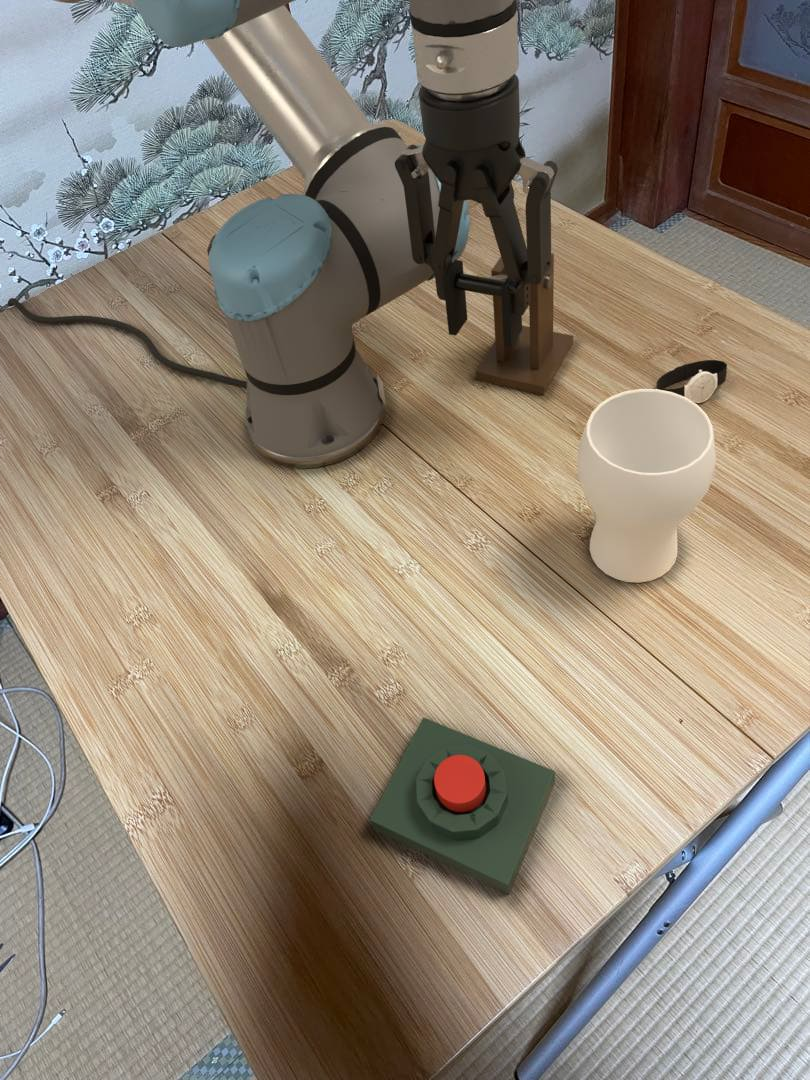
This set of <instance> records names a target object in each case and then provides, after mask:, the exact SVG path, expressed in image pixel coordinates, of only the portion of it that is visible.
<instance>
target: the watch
mask: <svg viewBox="0 0 810 1080" xmlns="http://www.w3.org/2000/svg"><path fill="white" fill-rule="evenodd" d="M727 372H728V364H727V363H726V362H725V361H722V360H718V359H704V360H699V361H694V362H689V363H684V364H683V365H680V366H677V367H675V368H674V369H672V370H670V371H667V372H665V373H664V374H662V375H661V376H660V377H659V378H658V380H657V381H656V389H658V390H664V391H669V392H673V393H676V394H678V395H681V396H683V397H686V398H688V399H689V400H691V401H692V402H694V403H695V404H697V403H699V404H700V403H704V402H706V401H707V400H709V398H710V397H712V395H713V394H714V392H715V391H716V389H717V388H718V387H720V386H722V385H723V384H724V383H725V382H726V379H727ZM688 379H690V380H689V381H688V383H687V384H685V385H683V386H681V387H675V388H667V387H669V386H671V385H673V384H676V383H678V382H681V381H684V380H688Z"/></svg>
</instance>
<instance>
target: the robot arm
mask: <svg viewBox="0 0 810 1080" xmlns="http://www.w3.org/2000/svg"><path fill="white" fill-rule="evenodd" d="M53 1H54V2H59V3H63V4H77V3H79V2H84V0H53ZM108 1H109V2H115V3H118V4H122V5H126V6H131V7H134V8H136V9H137V11H138V14H139V15H140V17H141V18H142V20H143V22H144V23H145V24H146V26H147V27H148V28H149V29H150V30H151V31H153V32H154V33H155V35H156V37H157V38H158V39H160V41H162V42H163V43H164V44H165V45H168V46H169V47H174V48H184V47H185V48H186V47H188V46H191V45H193V44H196V43H199V42H201V41H202V42H203V43H204V44H205V45H206V47H207V48H208V49H209V51H210V52H211V54H212V55H213V57H214V58H215V59H216V60H217V63H219V65H220V66H221V67H222V69H223V70H224V71H225V73H226V74H227V76H228V77H229V78H230V79H231V81H232V83H233V84H234V85H235V87H236V88H237V90H239V92H240V93H241V95H242V96H243V97H244V99H245V100H246V102H247V103H248V104H249V106H250V107H251V109H252V110H253V112H254V113H255V115H256V116H257V117H258V118H259V120H260V121H261V122H262V124H263V125H264V126H265V128H266V129H267V131H268V132H269V133H270V135H271V136H272V137H273V139H274V140H275V142H276V143H277V144H278V146H279V147H280V149H282V151H283V152H284V154H285V155H286V156H287V158H288V159H289V161H290V162H291V163H292V165H293V166H294V167H295V169H296V171H297V172H298V173H299V174H300V177H302V178H303V180H304V184H303V185H304V186H303V192H302V194H299V193H283V194H282V193H281V194H279V195H278V197H276V198H274V199H273V198H272V197H270V196H267V197H265V198H262V199H258V200H256V201H254V202H252V203H250V204H248V205H246V206H244V207H242V208H241V209H240V210H238V211H237V212H236V213H234V214H233V215H232V216H230V217H229V218H228V219H227V220H226V221H225V222H224V223H223V224H222V225H221V227H220V228H219V229H218V231H217V233H216V234H215V235H216V236H215V238H214V240H213V242H212V248H211V250H210V252H209V256H208V268H209V272H210V276H211V279H212V282H213V287H214V295H215V299H216V301H217V305H218V306H219V308H220V309H219V310H221V311H222V313H223V315H224V319H225V321H226V324H227V326H228V328H229V332H230V334H231V338H232V340H233V342H234V345H235V348H236V351H237V354H238V357H239V358H240V362H241V364H242V367H243V370H244V373H245V376H246V380H242V379H237V378H234V377H229V376H227V375H222V374H219V373H215V372H211V371H207V370H202V369H198V368H194V367H190V366H186V365H183V364H180V363H178V362H175V361H173V360H171V359H169V358H167V357H165V356H164V355H163V354H162V353H161V352H159V350H158V349H157V347H156V346H155V344H154V343H153V341H152V340H151V338H149V336H148V335H147V334H146V333H145V332H143V331H142V330H141V329H139V328H137V327H135V326H133V325H131V324H129V323H126V322H123V321H120V320H116V319H112V318H106V317H103V316H102V317H100V316H94V315H67V316H41V315H37V314H34V313H33V312H31V311H30V310H28V309H27V308H26V307H25V306H23V304H22V303H21V302H20V301H19V300H18V299H16V298H14V297H11V298H9V299H8V300H7V306H8V307H13V306H14V307H15V308H16V309H17V310H18V311H19V312H20V313H21V314H22V315H23V316H24V317H26V318H27V319H29V320H30V321H33V322H37V323H41V324H66V323H93V324H101V325H107V326H110V327H111V326H112V327H114V328H115V327H116V328H119V329H122V330H123V331H127V332H129V333H130V334H133V335H134V336H136V337H138V338H139V339H140V340H142V342H143V343H144V344H145V346H146V347H147V349H148V350H149V352H150V353H151V355H152V356H153V357H154V358H155V359H156V360H157V361H158V362H159V363H160V364H162V365H164V366H166V367H167V368H170V369H172V370H173V371H176V372H180V373H183V374H186V375H191V376H195V377H200V378H202V379H203V378H204V379H208V380H211V381H214V382H218V383H222V384H226V385H229V386H234V387H236V388H240V389H245V390H246V397H245V398H246V400H245V405H246V407H245V423H246V427H247V431H248V434H249V437H250V439H251V441H252V444H253V445H254V447H255V449H256V450H257V451H258V452H259V454H261V456H263V457H265V458H266V459H268V460H269V461H271V462H273V463H275V464H278V465H282V466H285V467H291V468H301V469H309V468H318V467H319V468H320V467H325V466H329V465H331V464H335V463H338V462H341V461H343V460H346V459H348V458H349V457H352V456H353V455H355V454H357V453H358V452H360V451H361V450H363V449H364V448H365V447H366V446H367V445H369V444H370V443H371V442H372V441H373V440H374V439H375V437H377V435H378V433H379V432H380V431H381V429H382V427H383V424H384V422H385V418H386V412H387V408H386V405H387V403H386V396H385V389H384V388H385V387H384V382H383V380H382V379H381V378H380V376H379V374H378V373H376V375H375V374H374V372H372V371H371V369H369V368H368V365H367V363H366V361H365V360H364V358H363V356H362V355H361V353H360V352H359V350H358V349H357V346H356V341H355V337H354V334H353V328H352V326H353V325H354V324H355V323H357V322H358V321H360V320H362V319H364V318H365V317H367V316H368V315H370V314H372V313H374V312H375V311H377V310H379V309H380V308H382V307H385V306H386V305H388V304H390V303H391V302H392V301H394V300H397V299H398V298H399V297H401V296H404V295H405V294H406V293H408V292H409V291H411V290H413V289H414V288H416V287H418V286H420V285H421V284H423V283H425V282H428V281H429V282H430V281H431V280H433V279H434V281H435V288H436V289H435V290H436V295H437V298H438V300H440V301H444V302H445V311H446V319H447V320H446V321H447V330H448V335H451V336H454V337H456V336H457V335H458V333H459V332H460V331H461V329H462V328H463V326H464V325H465V323H466V322H467V321H468V319H469V318H468V307H467V298H466V297H467V295H466V291H465V290H460V289H456V288H455V286H454V280H455V277H456V275H457V273H464V262H463V260H460V259H459V258H460V257H462V255H463V254H464V251H465V249H466V247H467V245H468V241H469V235H470V215H469V204H468V201H473V202H475V203H477V204H481V206H482V210H483V213H484V216H485V217H486V218H488V219H489V222H490V225H491V228H492V232H493V235H494V238H495V241H496V246H497V247H498V251H499V255H500V257H501V258H502V261H503V264H504V268H505V271H506V274H507V279H506V280H505V282H504V283H503V285H502V286H501V298H502V319H503V339H504V346H506V347H512V346H513V344H514V342H515V341H516V339H517V338H518V336H519V334H520V333H521V331H522V325H523V316H524V314H525V313H526V311H527V310H528V308H529V304H530V302H531V301H530V283H531V284H533V285H538V284H540V283H541V281H542V280H543V278H544V276H545V275H546V273H547V272H548V270H549V269H550V267H551V253H552V192H551V191H552V187H553V184H554V182H555V180H556V177H557V174H558V170H559V168H558V165H557V163H556V162H554V161H553V160H547V161H545V162H544V163H543V164H542V163H540V162H537V161H535V160H533V159H531V158H529V157H527V155H526V154H527V153H526V151H525V149H524V148H525V147H524V146H523V144H522V142H521V139H520V128H521V127H520V125H521V118H520V117H521V113H520V110H521V109H520V79H519V77H518V75H517V74H516V73H517V71H518V70H519V64H520V61H519V60H520V58H519V57H520V56H519V55H520V54H519V35H518V33H519V32H518V31H519V30H518V11H517V8H518V3H517V2H518V0H408V11H409V20H410V24H411V25H410V26H411V36H412V42H413V43H412V44H413V51H414V61H415V69H416V78H417V82H418V83H419V84H420V85H421V86H420V87H419V90H418V99H419V107H420V108H419V109H420V116H421V125H422V133H423V136H424V138H425V141H424V144H418V145H416V144H410V145H407V143H405V141H404V140H403V139H402V137H401V135H400V134H399V133H398V132H397V130H396V129H395V128H394V127H393V126H391V125H389V124H386V123H371V121H370V120H369V118H368V117H367V116H366V115H365V113H364V112H363V110H362V109H361V108H360V106H359V105H358V104H357V102H356V101H355V99H353V97H352V96H351V94H350V92H348V90H347V88H346V87H345V86H344V85H343V83H342V82H341V80H340V79H339V77H338V76H337V75H336V74H335V72H334V71H333V69H331V67H330V65H329V64H328V63H327V61H326V60H325V59H324V57H323V56H322V55H321V54H320V51H318V49H317V48H316V46H315V45H314V43H313V42H312V41H311V39H310V38H309V37H308V35H307V34H306V32H304V29H302V27H301V26H300V24H299V23H298V22H297V20H296V18H294V16H293V15H292V14H291V12H290V11H289V10H288V8H287V6H285V5H288V4H291V3H293V2H295V1H296V0H108ZM517 174H518V175H519V176H520V177H521V179H522V187H523V188H522V191H523V193H524V194H526V200H525V233H526V240H525V237H524V233H523V230H522V226H521V223H520V219H519V216H518V212H517V209H516V205H515V202H514V201H515V190H514V186H513V183H512V181H513V180H514V178H515V177H516V176H517Z"/></svg>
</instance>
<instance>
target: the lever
mask: <svg viewBox="0 0 810 1080" xmlns="http://www.w3.org/2000/svg"><path fill="white" fill-rule="evenodd" d="M506 279H507V274H503V275H497V276H492V275H491V276H487V277H485V276H480V275H473V274H469V273H465V272H463V273H457V275H456V277H455V280H454V286H455V288H456V289H460V290H465V292H466V291H467V292H471V293H477V294H481V295H485V296H492V297H493V296H497V297H501V286H502V285H503V283H504V282H505V280H506Z"/></svg>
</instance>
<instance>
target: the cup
mask: <svg viewBox="0 0 810 1080" xmlns="http://www.w3.org/2000/svg"><path fill="white" fill-rule="evenodd" d="M715 444H716V443H715V435H714V426H713V424H712V422H711V420H710V418H709V416H708V414H707V413H706V411H704V409H702V408H701V407H700V406H699V405H698V404H697V403H696V402H693V401H691V400H689V399H688V398H686V397H683V396H681V395H678V394H676V393H673V392H669V391H664V390H658V389H657V388H637V389H631V390H625V391H623V392H620V393H616V394H614V395H611V396H609V397H608V398H607V399H605V400H604V401H602V402H600V403H599V404H598V405H597V406H596V407H595V408H594V409H593V411H592V412H591V413H590V415H589V417H588V419H587V421H586V424H585V426H584V429H583V432H582V435H581V437H580V439H579V443H578V447H577V449H578V450H577V464H576V465H577V466H576V467H577V468H576V476H577V479H578V482H579V484H580V488H581V490H582V493H583V495H584V499H585V501H586V503H587V505H588V506H589V507H590V508H591V510H592V512H593V513H594V514H595V518H596V521H595V522H594V526H593V529H592V532H591V535H590V539H589V553H590V556H591V559H592V561H593V562H594V564H595V565H596V566H597V568H598V569H599V570H601V571H602V572H603V573H604V574H605V575H607V576H609V577H611V578H613V579H615V580H619V581H621V582H626V583H637V584H638V583H639V584H640V583H647V582H651V581H654V580H656V579H659V578H661V577H663V576H664V575H666V574H667V573H668V572H669V571H670V570H671V569H672V567H673V566H674V564H675V563H676V560H677V557H678V544H679V543H678V527H679V525H680V524H681V523H682V522H683V521H685V520H686V519H688V518H689V517H690V516H691V515H692V514H693V512H694V511H695V510H696V508H697V507H698V506H699V504H700V503H701V501H702V500H703V499H704V497H705V496H706V495H707V494H708V492H709V491H710V490H709V489H710V487H711V483H712V480H713V478H714V477H713V476H714V472H715V469H716V465H717V464H716V463H717V455H716V445H715Z"/></svg>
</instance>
